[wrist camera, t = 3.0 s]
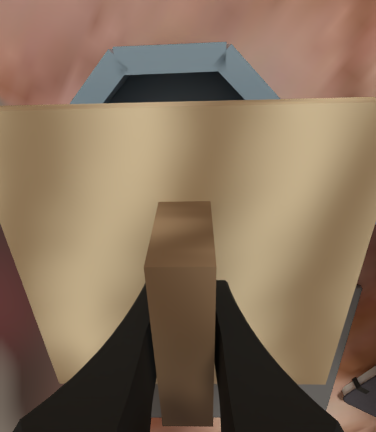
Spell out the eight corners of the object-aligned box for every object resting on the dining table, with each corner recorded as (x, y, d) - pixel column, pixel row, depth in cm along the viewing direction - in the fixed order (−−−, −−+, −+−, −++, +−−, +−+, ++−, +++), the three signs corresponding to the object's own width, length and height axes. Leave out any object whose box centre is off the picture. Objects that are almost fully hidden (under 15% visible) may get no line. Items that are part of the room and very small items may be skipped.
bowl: (294, 39, 17) (315, 38, 14) (272, 241, 24) (283, 271, 20) (56, 49, 18) (27, 50, 15) (97, 245, 24) (83, 274, 21)
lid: (395, 96, 11) (526, 133, 7) (319, 368, 18) (358, 470, 14) (-23, 106, 12) (-157, 147, 7) (65, 367, 19) (26, 466, 14)
